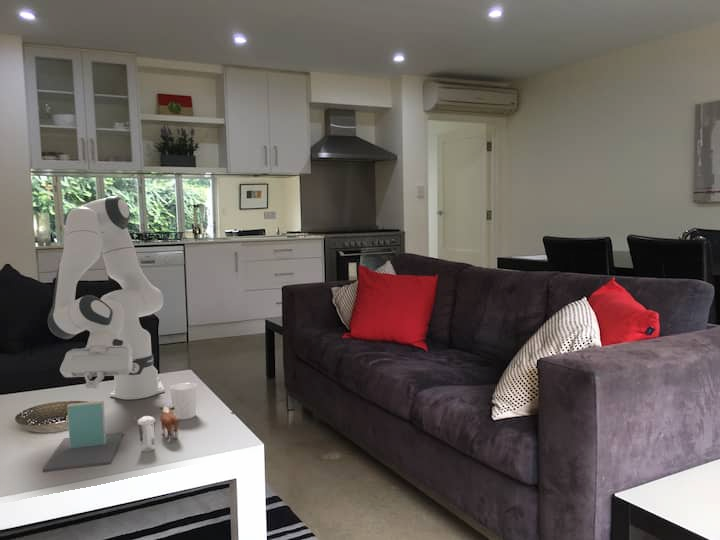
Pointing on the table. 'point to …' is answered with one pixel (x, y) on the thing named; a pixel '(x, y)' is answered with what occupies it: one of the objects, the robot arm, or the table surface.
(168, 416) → the bull figurine
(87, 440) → the tile
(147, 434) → the milkshake
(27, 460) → the table surface
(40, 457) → the table surface
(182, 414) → the white cup
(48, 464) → the mat
